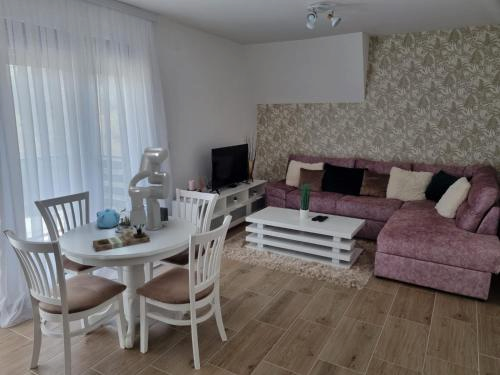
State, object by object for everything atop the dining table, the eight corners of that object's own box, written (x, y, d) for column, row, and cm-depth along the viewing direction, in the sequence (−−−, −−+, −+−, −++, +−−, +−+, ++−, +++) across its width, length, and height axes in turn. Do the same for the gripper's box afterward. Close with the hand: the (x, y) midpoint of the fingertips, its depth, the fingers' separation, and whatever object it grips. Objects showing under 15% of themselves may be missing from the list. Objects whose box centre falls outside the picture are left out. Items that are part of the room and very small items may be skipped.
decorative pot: (121, 227, 265) (120, 210, 263) (98, 230, 258) (96, 212, 256) (118, 222, 280) (117, 205, 277) (96, 224, 273) (95, 207, 270)
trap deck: (144, 236, 247) (143, 232, 246) (149, 241, 236) (149, 237, 235) (93, 245, 229) (92, 240, 229) (96, 251, 219) (96, 247, 218)
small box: (168, 220, 284) (168, 207, 282) (164, 222, 278) (163, 209, 276) (157, 219, 288) (156, 206, 286) (152, 221, 282) (152, 208, 280)
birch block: (131, 235, 238) (130, 228, 237) (133, 238, 233) (133, 231, 232) (123, 237, 236) (123, 230, 235) (125, 239, 231) (125, 232, 230)
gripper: (147, 205, 241) (148, 231, 245) (124, 208, 233) (126, 234, 237) (150, 207, 235) (152, 234, 239) (127, 210, 227) (129, 238, 231)
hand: (139, 234), depth 238 cm, fingers closed
